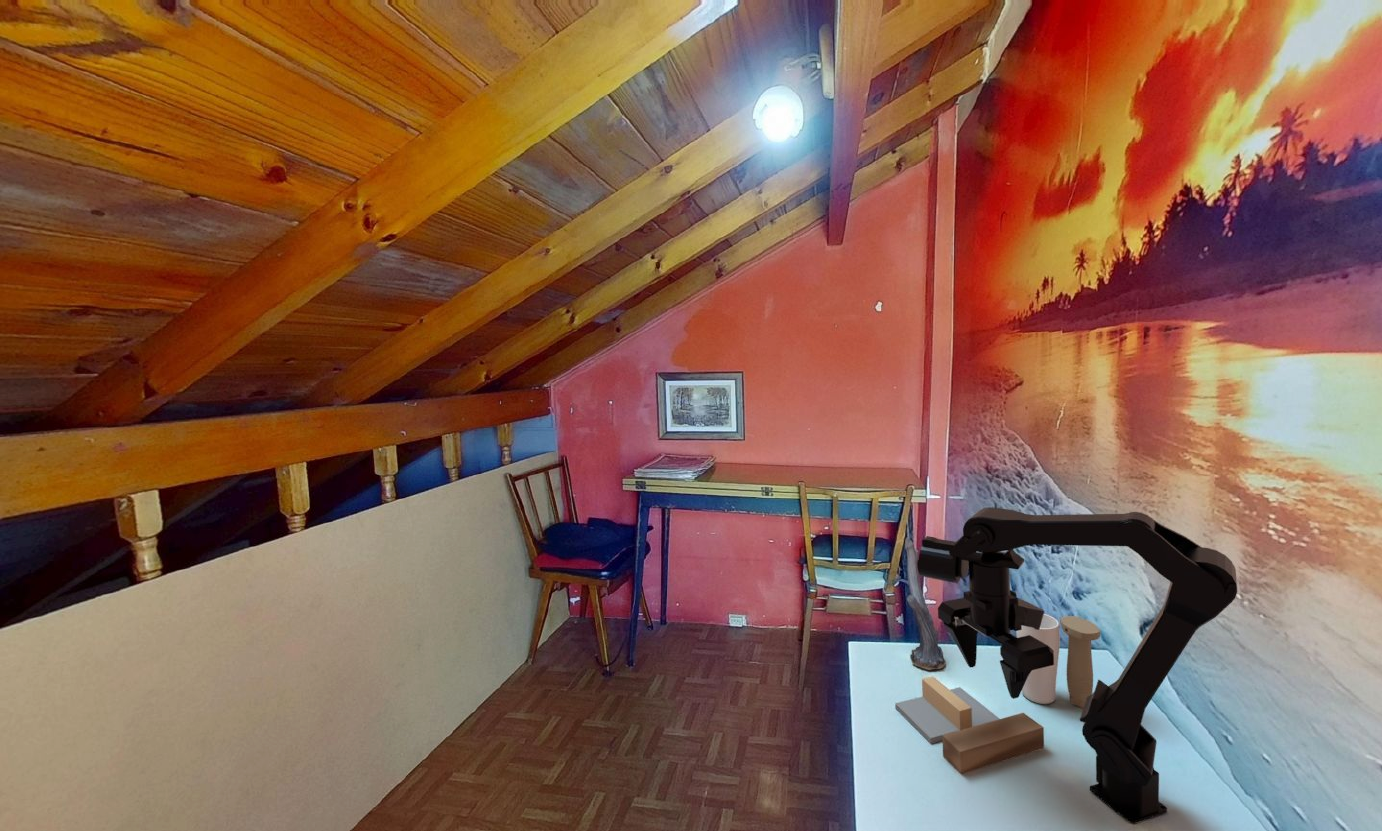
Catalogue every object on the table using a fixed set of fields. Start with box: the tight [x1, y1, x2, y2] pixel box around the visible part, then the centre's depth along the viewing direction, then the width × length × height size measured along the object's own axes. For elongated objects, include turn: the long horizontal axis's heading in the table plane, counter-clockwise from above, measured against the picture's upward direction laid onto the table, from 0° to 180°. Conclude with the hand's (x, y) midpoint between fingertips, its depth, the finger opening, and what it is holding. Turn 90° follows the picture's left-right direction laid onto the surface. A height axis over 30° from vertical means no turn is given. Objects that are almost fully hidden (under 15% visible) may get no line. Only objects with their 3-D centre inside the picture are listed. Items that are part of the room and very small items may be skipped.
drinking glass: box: [1015, 613, 1061, 705], centre depth 103 cm, size 7×7×15 cm
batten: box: [942, 712, 1045, 775], centre depth 91 cm, size 4×16×4 cm, turn 104°
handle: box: [1059, 615, 1101, 709], centre depth 100 cm, size 5×6×15 cm
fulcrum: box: [894, 675, 1001, 745], centre depth 100 cm, size 10×14×4 cm
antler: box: [904, 536, 947, 671], centre depth 118 cm, size 12×8×25 cm
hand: (992, 681), depth 90 cm, fingers open, 9 cm apart
